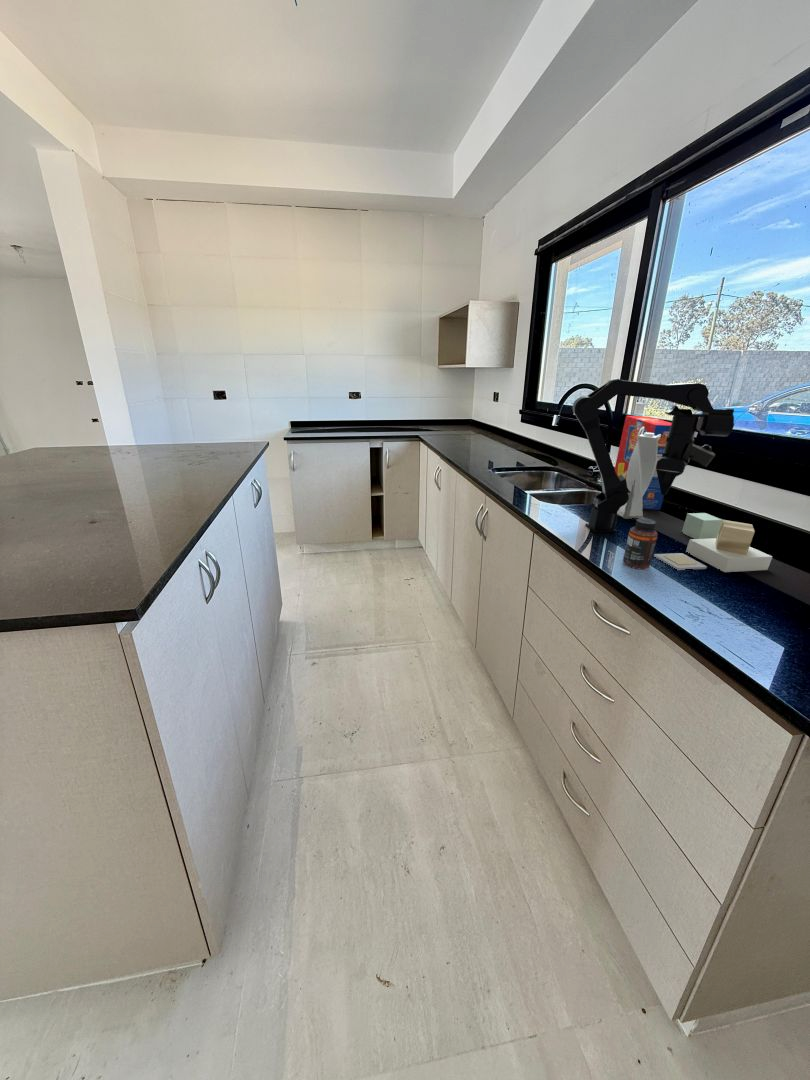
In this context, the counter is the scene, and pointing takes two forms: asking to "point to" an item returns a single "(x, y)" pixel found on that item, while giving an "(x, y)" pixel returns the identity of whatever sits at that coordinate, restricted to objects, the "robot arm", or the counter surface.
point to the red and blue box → (626, 448)
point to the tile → (680, 561)
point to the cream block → (728, 557)
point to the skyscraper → (640, 473)
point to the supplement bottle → (640, 544)
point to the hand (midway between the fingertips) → (665, 491)
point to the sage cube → (701, 526)
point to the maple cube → (734, 537)
